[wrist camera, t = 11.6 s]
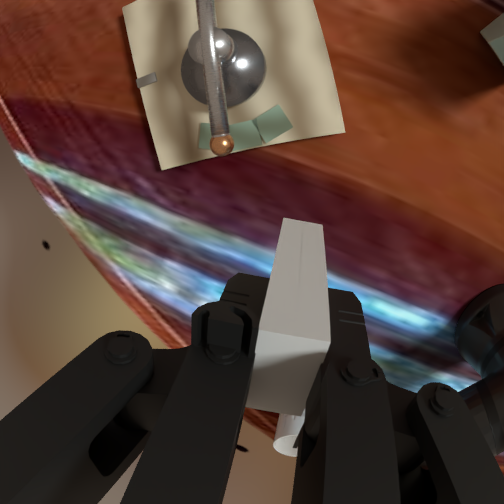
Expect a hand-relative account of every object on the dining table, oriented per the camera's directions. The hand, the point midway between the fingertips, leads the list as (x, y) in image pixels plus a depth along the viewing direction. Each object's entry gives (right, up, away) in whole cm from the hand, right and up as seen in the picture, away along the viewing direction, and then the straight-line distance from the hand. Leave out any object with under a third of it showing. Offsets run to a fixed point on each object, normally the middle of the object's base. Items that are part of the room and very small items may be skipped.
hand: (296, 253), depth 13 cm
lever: (-5, +21, +18) cm, 28 cm away
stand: (-5, +23, +20) cm, 30 cm away
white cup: (+7, -28, +42) cm, 51 cm away
